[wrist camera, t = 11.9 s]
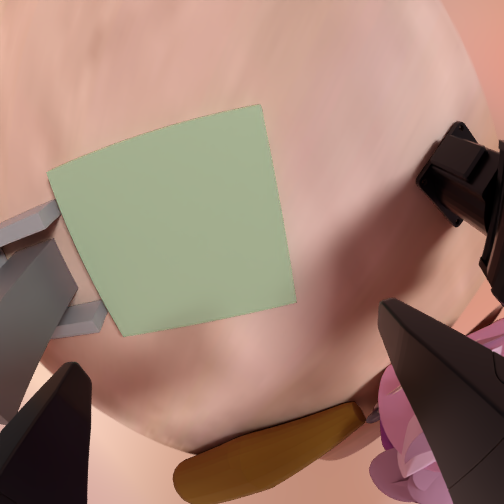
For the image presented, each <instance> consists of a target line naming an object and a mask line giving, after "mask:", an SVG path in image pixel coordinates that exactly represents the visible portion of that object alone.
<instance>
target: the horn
mask: <svg viewBox="0 0 504 504" xmlns="http://www.w3.org/2000/svg"><path fill="white" fill-rule="evenodd" d="M365 421H366V418H365V416H364V414H363V412H362V410H361V409H360V407H359V406H358V405H357V404H356V403H355V402H349V403H344V404H341V405H338V406H336V407H333V408H330V409H328V410H325V411H322V412H319V413H316V414H314V415H311V416H308V417H305V418H301V419H298V420H295V421H292V422H289V423H285V424H282V425H279V426H275V427H272V428H268V429H264V430H261V431H257V432H253V433H249V434H246V435H243V436H240V437H237V438H235V439H233V440H231V441H229V442H226V443H224V444H222V445H220V446H217V447H215V448H213V449H210V450H208V451H206V452H203V453H201V454H198V455H196V456H194V457H191V458H188V459H186V460H184V461H183V462H181V463H180V464H179V465H178V466H177V467H176V469H175V471H174V474H173V482H174V487H175V489H176V491H177V493H178V494H179V495H180V497H181V498H182V499H183V500H185V501H186V502H188V503H190V504H218V503H222V502H226V501H230V500H234V499H238V498H241V497H245V496H248V495H252V494H254V493H258V492H261V491H264V490H267V489H270V488H273V487H275V486H276V485H278V484H280V483H281V482H283V481H285V480H286V479H288V478H289V477H291V476H293V475H294V474H296V473H297V472H299V471H300V470H302V469H303V468H305V467H306V466H308V465H309V464H311V463H312V462H314V461H315V460H317V459H318V458H320V457H321V456H322V455H324V454H325V453H327V452H328V451H329V450H331V449H332V448H334V447H335V446H336V445H338V444H339V443H340V442H342V441H343V440H344V439H345V438H347V437H348V436H349V435H351V434H352V433H353V432H354V431H356V430H357V429H358V428H359V427H360V426H362V425H363V424H364V423H365Z"/></svg>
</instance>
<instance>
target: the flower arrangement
mask: <svg viewBox="0 0 504 504" xmlns="http://www.w3.org/2000/svg"><path fill="white" fill-rule="evenodd" d="M467 337H469V338H471V339H473V340H474V341H476V342H478V343H480V344H482V345H483V346H485V347H487V348H489V349H491V350H492V352H493V351H494V352H496V353H498V354H500V355H502V356H503V357H504V318H502V319H499V320H497V321H495V322H494V323H493V324H491V325H489V326H487V327H485V328H482V329H480V330H478V331H476V332H474V333H472V334H469V335H467ZM378 420H380V431H381V440H382V445H383V447H384V449H385V450H386V451H385V452H383V453H381V454H379V455H378V456H377V457H376V458H374V459H373V461H372V462H371V465H370V467H369V473H370V476H371V478H372V480H373V482H374V484H375V485H376V486H377V487H378V489H379V490H380V491H382V492H383V493H384V494H385V495H387V496H389V497H391V498H393V499H395V500H399V501H403V502H415V503H419V504H453V502H452V499H451V497H450V494H449V492H448V488H447V486H446V484H445V481H444V479H443V476H442V474H441V471H440V469H439V467H438V464H437V462H436V460H435V457H434V455H433V453H432V450H431V448H430V446H429V444H428V441H427V439H426V437H425V435H424V433H423V430H422V428H421V426H420V424H419V422H418V420H417V418H416V415H415V413H414V411H413V409H412V407H411V405H410V403H409V401H408V399H407V397H406V395H405V393H404V391H403V389H402V387H401V385H400V383H399V381H398V378H397V376H396V374H395V372H394V369H393V366H392V364H391V365H389V366H388V367H387V368H386V370H385V372H384V373H383V376H382V378H381V382H380V386H379V394H378V403H377V404H376V405H375V407H374V408H373V412H372V413H371V414H370V415H369V416H368V418H367V419H366V422H367V423H373V422H377V421H378Z"/></svg>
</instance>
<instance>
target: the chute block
mask: <svg viewBox="0 0 504 504" xmlns="http://www.w3.org/2000/svg"><path fill="white" fill-rule="evenodd" d="M77 289H78V286H77V285H76V283H75V281H74V279H73V277H72V275H71V273H70V271H69V269H68V267H67V265H66V263H65V261H64V259H63V257H62V255H61V253H60V251H59V249H58V247H57V244H56V242H55V240H54V238H52V239H50V240H47V241H44V242H41V243H38V244H36V245H33V246H30V247H27V248H25V249H22V250H19V251H17V252H15V253H14V254H13V255H12V256H11V257H10V258H9V259H8V260H7V262H6V263H5V264H4V265H3V266H2V267H1V268H0V424H3V425H7V424H8V423H9V422H10V420H11V419H12V418H13V417H14V416H15V415H16V414H17V412H18V410H19V407H20V404H21V402H22V400H23V397H24V395H25V392H26V390H27V388H28V385H29V383H30V381H31V379H32V376H33V374H34V372H35V370H36V367H37V365H38V363H39V361H40V359H41V357H42V355H43V353H44V351H45V349H46V347H47V345H48V343H49V341H50V339H51V337H52V335H53V333H54V331H55V329H56V327H57V325H58V323H59V321H60V319H61V318H62V316H63V314H64V312H65V310H66V308H67V307H68V305H69V303H70V301H71V300H72V298H73V296H74V294H75V293H76V291H77Z"/></svg>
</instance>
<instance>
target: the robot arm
mask: <svg viewBox="0 0 504 504" xmlns="http://www.w3.org/2000/svg"><path fill="white" fill-rule="evenodd" d="M459 127H461V128H460V129H459ZM499 149H500V153H499V152H496V151H494V150H491V149H489V148H486V147H485V146H483V145H480V144H478V143H477V141H476V140H475V138H474V137H473V135H472V134H471V132H470V131H469V129H468V128H467V127H466V125H465V124H464V123H463V122H460V121H457V122H455V124H454V125H453V127H452V128H451V130H450V131H449V133H448V134H447V135H446V137H445V138H444V140H443V141H442V143H441V144H440V146H439V147H438V149H437V150H436V151H435V153H434V154H433V156H432V157H431V159H430V160H429V162H428V163H427V165H426V166H425V167H424V169H423V170H422V172H421V173H420V174H419V176H418V177H417V179H416V184H417V186H418V187H419V188H420V189H421V190H422V191H423V192H424V193H425V194H426V195H427V197H428V198H429V199H430V200H431V201H432V202H433V203H434V204H435V206H436V207H437V208H438V209H439V210H440V211H441V212H442V214H443V215H444V216H445V217H446V218H447V219H448V221H449V222H450V223H451V224H452V225H453V226H454V227H458V226H460V224H461V223H462V222H463V220H465V221H466V222H468V223H469V224H470V225H472V226H473V227H475V228H476V229H477V230H479V231H480V232H482V233H483V234H484V235H486V236H487V238H486V242H485V246H484V250H483V254H482V257H481V258H480V261H479V266H480V268H481V269H482V271H483V273H484V274H485V276H486V278H487V280H488V281H489V283H490V285H491V287H492V289H491V292H492V293H493V295H494V296H495V297H496V298H497V299H498V301H499V302H500V303H501V304H502V306H503V307H504V140H499ZM423 179H424V182H423V184H422V180H423ZM456 220H457V221H456ZM378 329H379V332H380V335H381V337H382V340H383V342H384V345H385V348H386V350H387V353H388V356H389V358H390V361H391V364H392V366H393V369H394V372H395V374H396V376H397V378H398V381H399V383H400V385H401V387H402V389H403V391H404V393H405V395H406V397H407V399H408V401H409V403H410V405H411V407H412V409H413V411H414V413H415V415H416V418H417V420H418V422H419V424H420V426H421V428H422V430H423V433H424V435H425V437H426V439H427V441H428V444H429V446H430V448H431V450H432V453H433V455H434V457H435V460H436V462H437V464H438V467H439V469H440V471H441V474H442V476H443V479H444V481H445V484H446V486H447V488H448V492H449V494H450V497H451V499H452V502H453V504H504V357H503V356H502V355H500V354H498V353H496V352H494V351H493V352H492V350H491V349H489V348H487V347H485V346H483V345H482V344H480V343H478V342H476V341H474V340H473V339H471V338H469V337H467V336H465V335H463V334H462V333H460V332H458V331H456V330H454V329H452V328H451V327H449V326H447V325H445V324H443V323H441V322H439V321H437V320H436V319H434V318H432V317H430V316H428V315H426V314H424V313H422V312H421V311H419V310H417V309H415V308H413V307H411V306H409V305H407V304H405V303H404V302H402V301H400V300H398V299H396V298H389V299H385V300H382V301H380V303H379V310H378ZM91 396H92V383H91V380H90V378H89V376H88V375H87V374H86V373H85V371H84V370H83V369H82V367H81V366H80V365H79V364H78V363H77V362H67V363H65V364H63V365H62V366H61V367H60V368H59V370H58V371H57V372H56V373H55V374H54V375H53V376H52V377H51V378H50V379H49V380H48V381H47V382H46V383H45V384H44V385H43V386H42V387H41V388H40V389H39V391H37V392H36V393H35V395H34V396H33V397H32V398H31V399H30V400H29V401H28V402H27V403H26V404H25V405H24V406H23V408H21V410H20V411H19V412H18V413H17V414H16V415H15V416H14V417H13V418H12V419H11V420H10V422H9V423H8V424H7V425H6V426H5V427H4V428H3V429H2V431H1V433H0V504H87V484H88V459H89V445H90V433H91Z"/></svg>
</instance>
